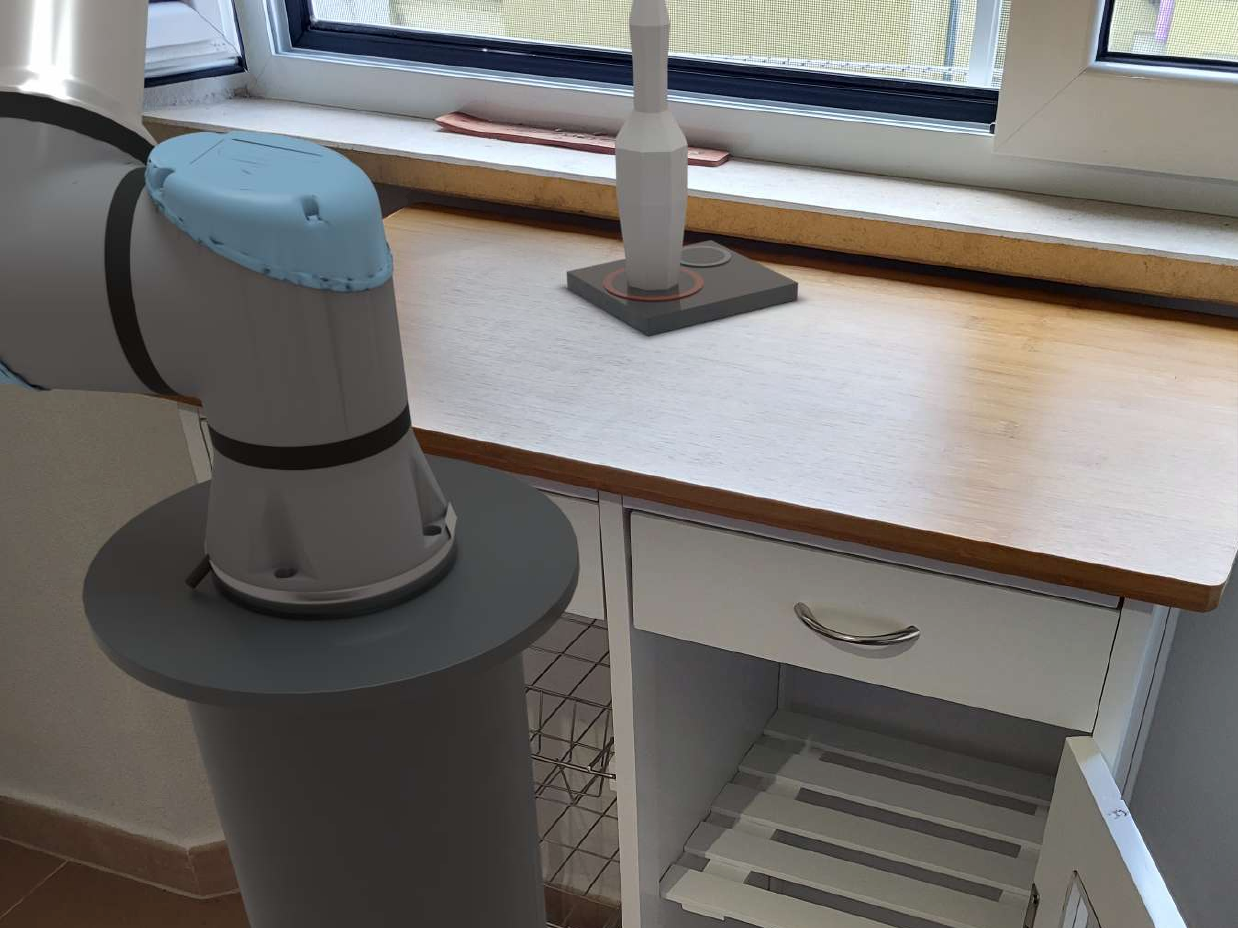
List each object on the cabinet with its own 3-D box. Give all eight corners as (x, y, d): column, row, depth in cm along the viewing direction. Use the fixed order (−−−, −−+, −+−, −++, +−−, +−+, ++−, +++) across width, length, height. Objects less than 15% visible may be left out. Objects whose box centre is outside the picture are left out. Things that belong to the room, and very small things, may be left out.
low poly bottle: (678, 296, 124) (678, 2, 109) (609, 290, 125) (599, -2, 110) (695, 272, 128) (697, -14, 114) (628, 266, 130) (621, -17, 115)
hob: (648, 336, 121) (647, 316, 120) (567, 288, 130) (566, 269, 129) (797, 299, 128) (798, 281, 127) (711, 256, 137) (711, 238, 135)
